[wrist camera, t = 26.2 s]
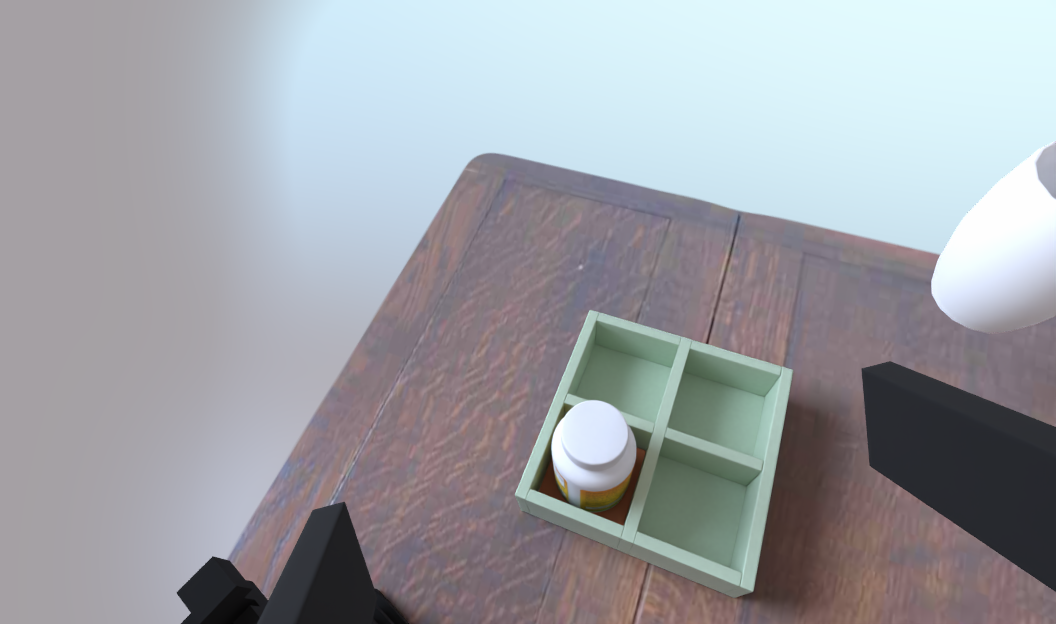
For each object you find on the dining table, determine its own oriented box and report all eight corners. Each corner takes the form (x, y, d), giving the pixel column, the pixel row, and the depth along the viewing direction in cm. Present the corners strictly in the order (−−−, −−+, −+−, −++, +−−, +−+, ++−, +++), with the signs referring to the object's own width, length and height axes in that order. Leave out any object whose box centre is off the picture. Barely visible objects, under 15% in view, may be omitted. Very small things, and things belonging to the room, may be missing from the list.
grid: (520, 510, 40) (514, 495, 36) (589, 337, 47) (589, 309, 43) (734, 598, 36) (753, 592, 32) (774, 394, 43) (794, 369, 39)
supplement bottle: (641, 463, 41) (657, 415, 32) (607, 529, 38) (615, 495, 30) (577, 427, 42) (577, 373, 34) (541, 488, 40) (531, 446, 32)
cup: (908, 321, 46) (1114, 115, 28) (966, 398, 42) (1247, 217, 24) (827, 344, 45) (985, 149, 28) (879, 424, 41) (1101, 259, 24)
